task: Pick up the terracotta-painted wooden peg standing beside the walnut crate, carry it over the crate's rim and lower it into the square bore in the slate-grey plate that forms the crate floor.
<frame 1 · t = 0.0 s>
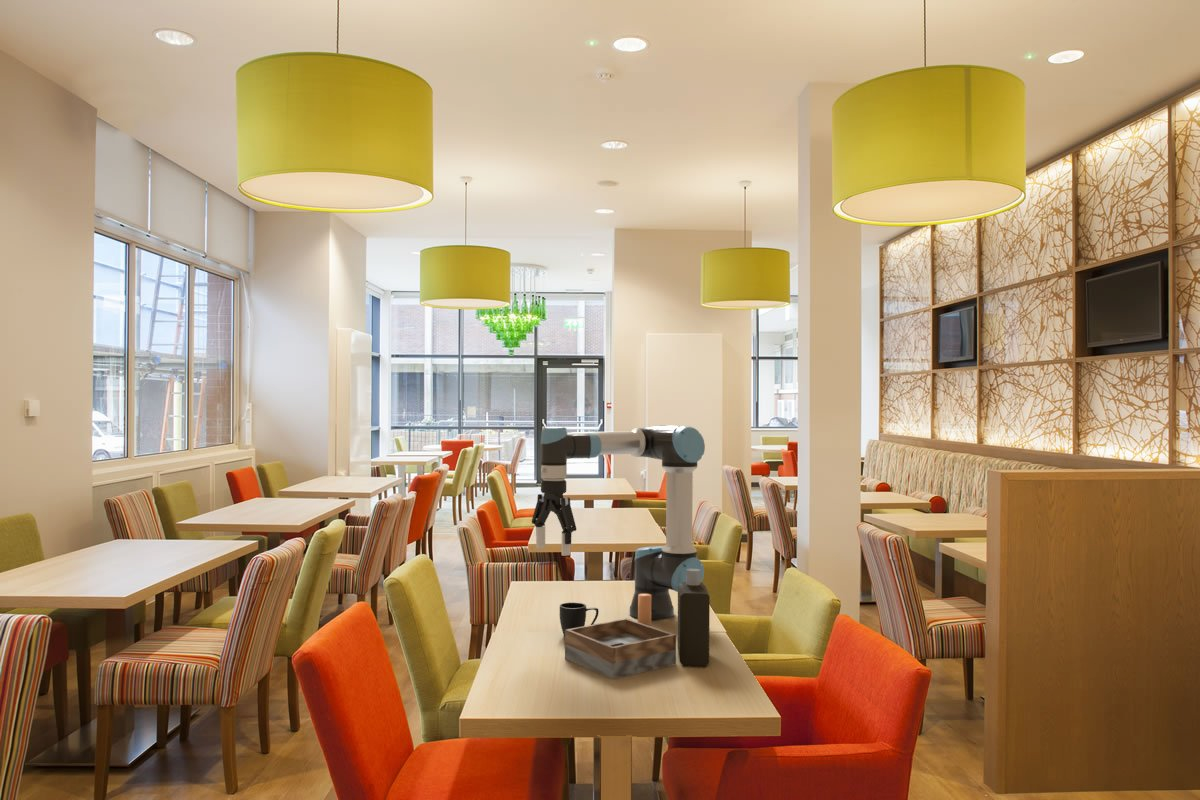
hand: (553, 552, 242), 28 cm above the table, fingers open, 13 cm apart
bottle: (692, 659, 231), on the table
crate: (619, 661, 229), on the table
peg: (644, 641, 248), on the table
mug: (578, 637, 253), on the table
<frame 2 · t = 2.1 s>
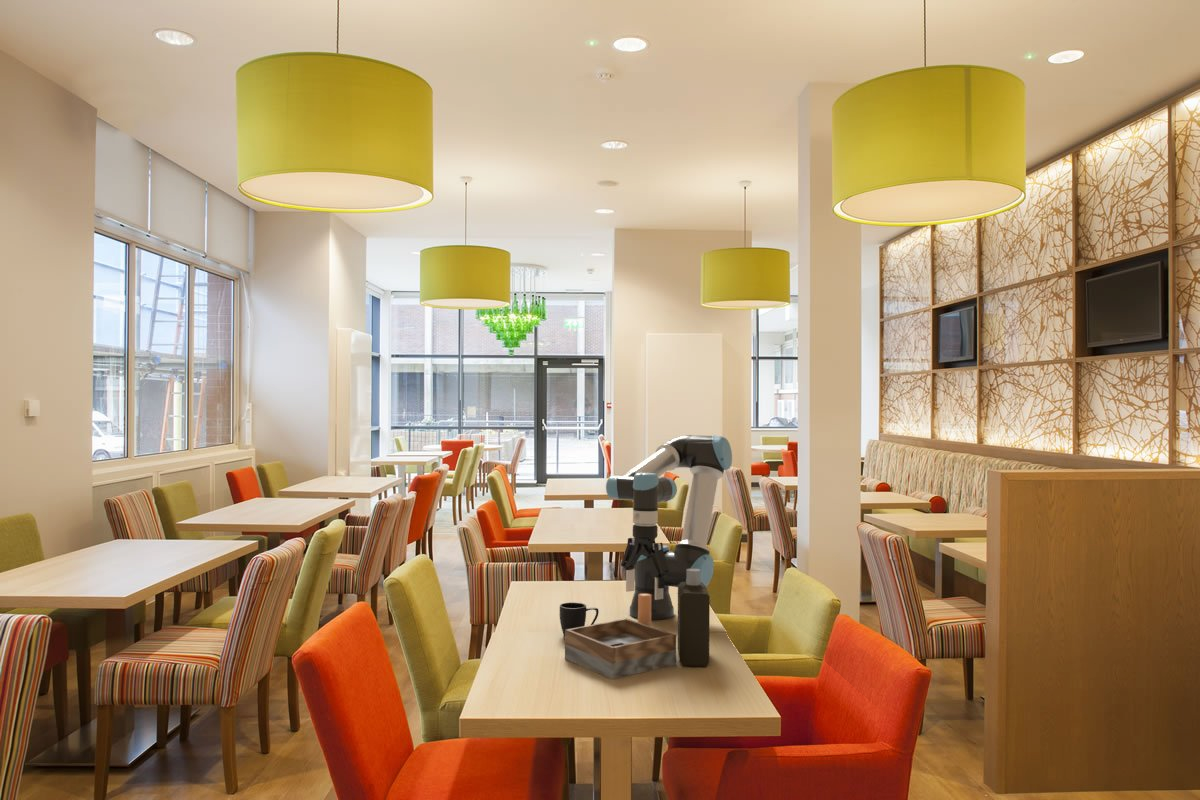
hand: (644, 595, 248), 14 cm above the table, fingers open, 13 cm apart
nothing on the table moved.
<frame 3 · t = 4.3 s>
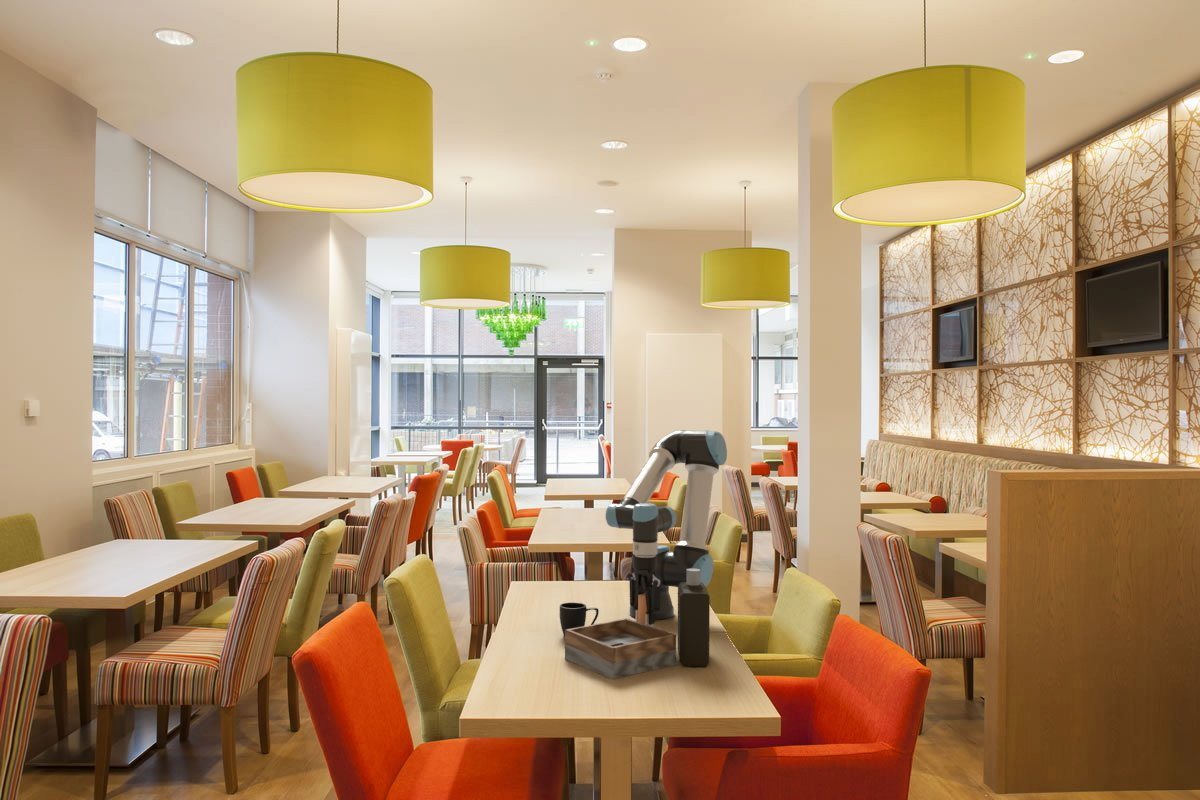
hand: (644, 632, 248), 3 cm above the table, fingers closed on peg, 4 cm apart
peg: (644, 641, 248), on the table, touching gripper
everything else where it was.
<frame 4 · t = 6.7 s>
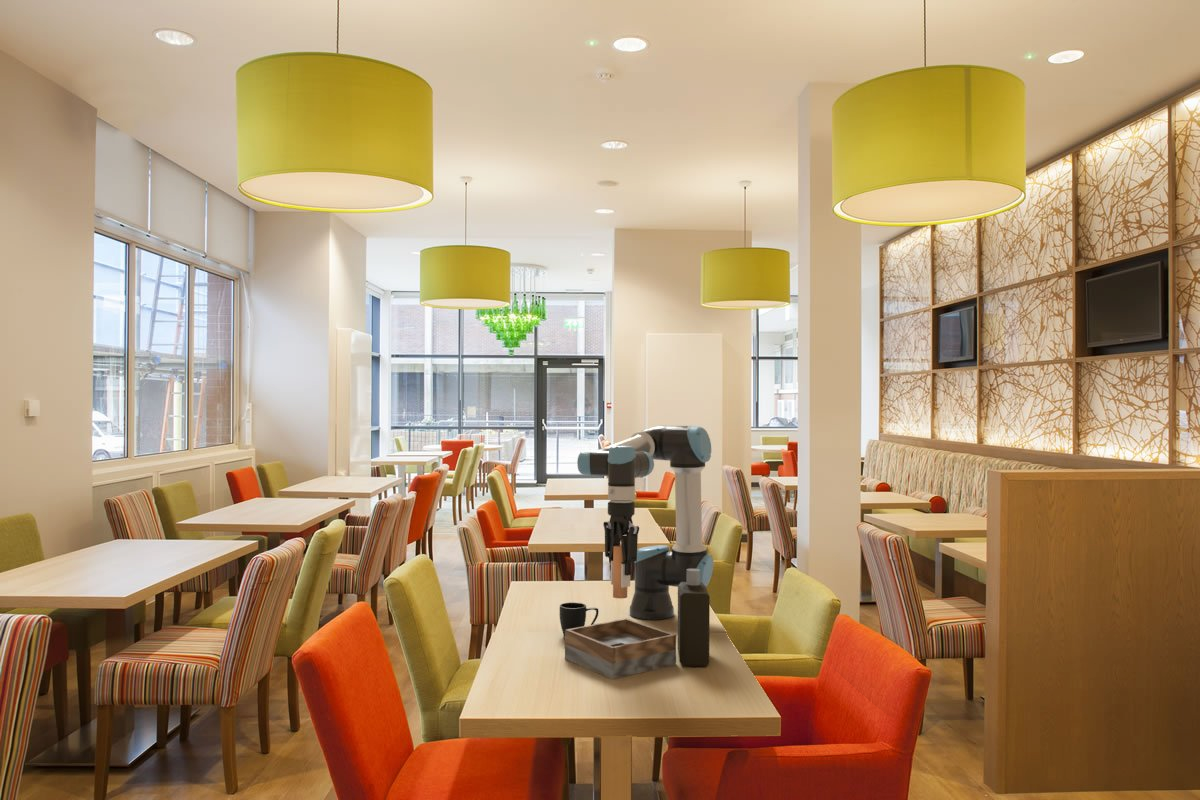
hand: (620, 585, 229), 21 cm above the table, fingers closed on peg, 4 cm apart
peg: (620, 596, 229), point 18 cm above the table, touching gripper
everything else where it was.
when the fingers open (6 cm above the table, at t = 9.6 s): peg drops 2 cm, resting in crate.
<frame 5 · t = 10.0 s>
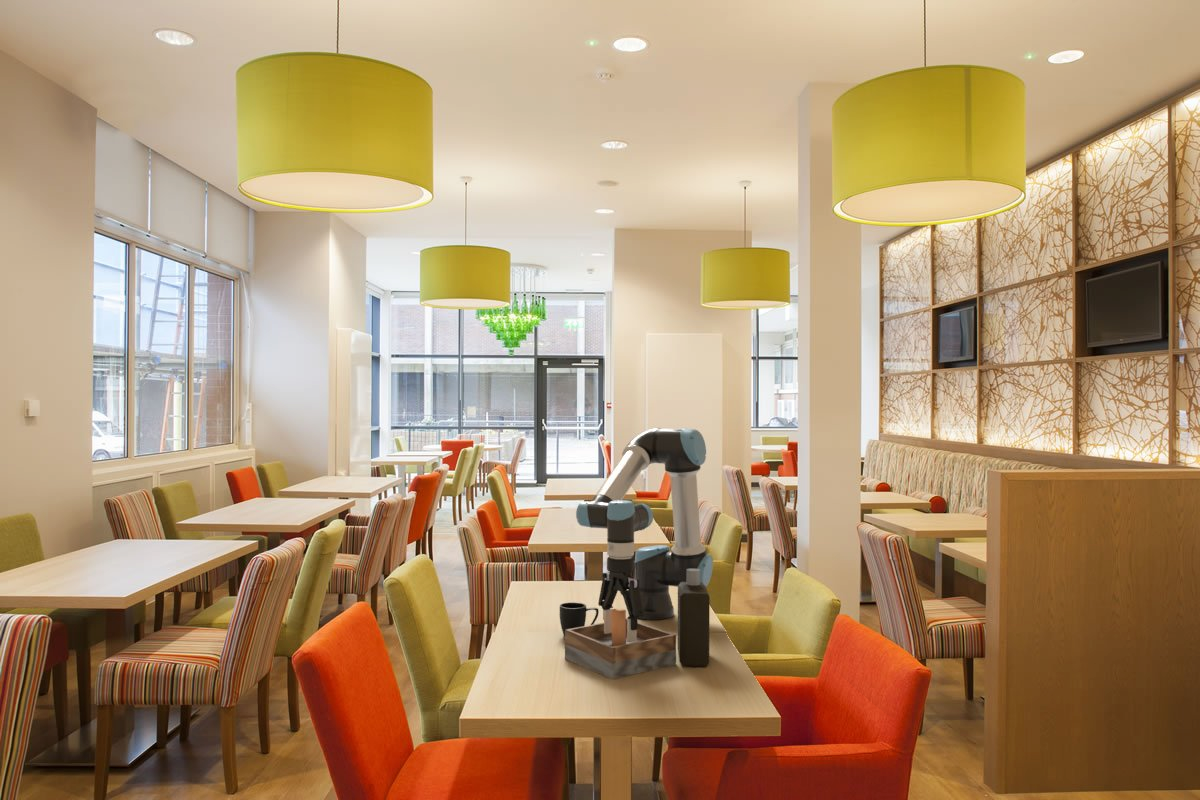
hand: (619, 637, 229), 7 cm above the table, fingers open, 10 cm apart
peg: (619, 660, 229), resting in crate
everything else where it was.
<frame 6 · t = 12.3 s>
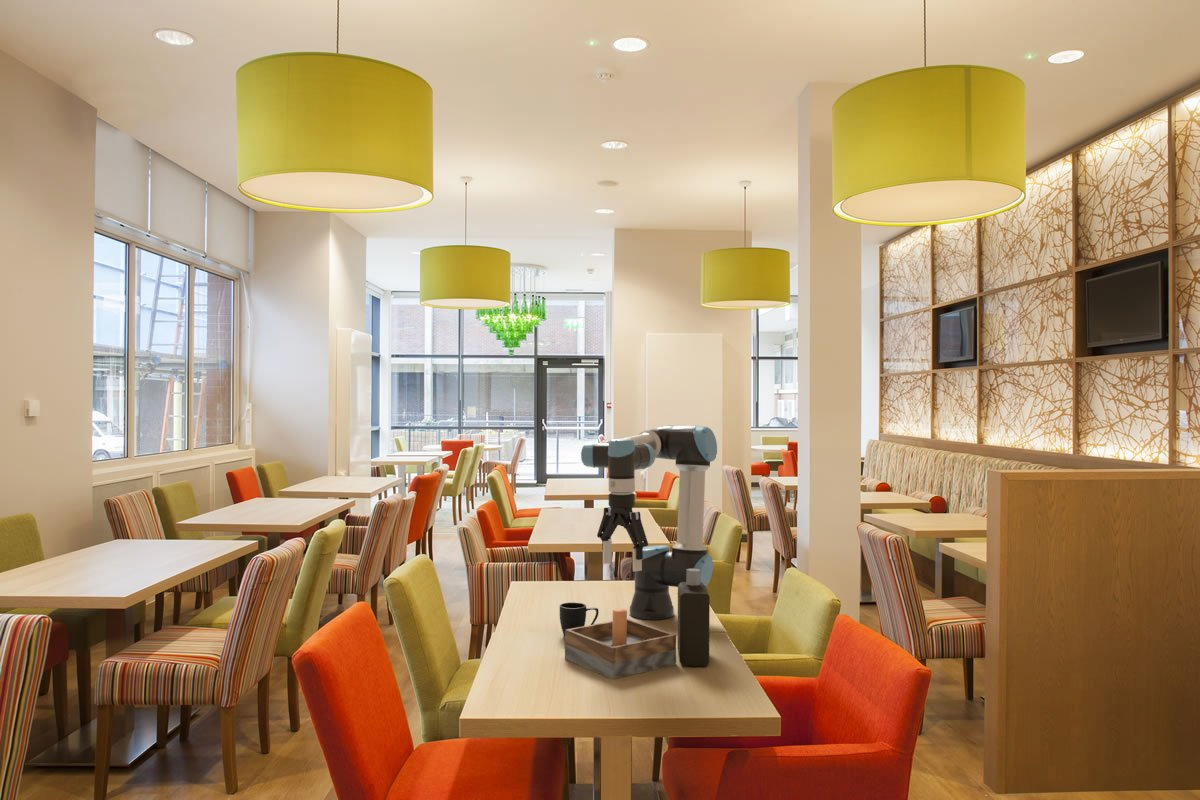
hand: (622, 567, 236), 25 cm above the table, fingers open, 13 cm apart
nothing on the table moved.
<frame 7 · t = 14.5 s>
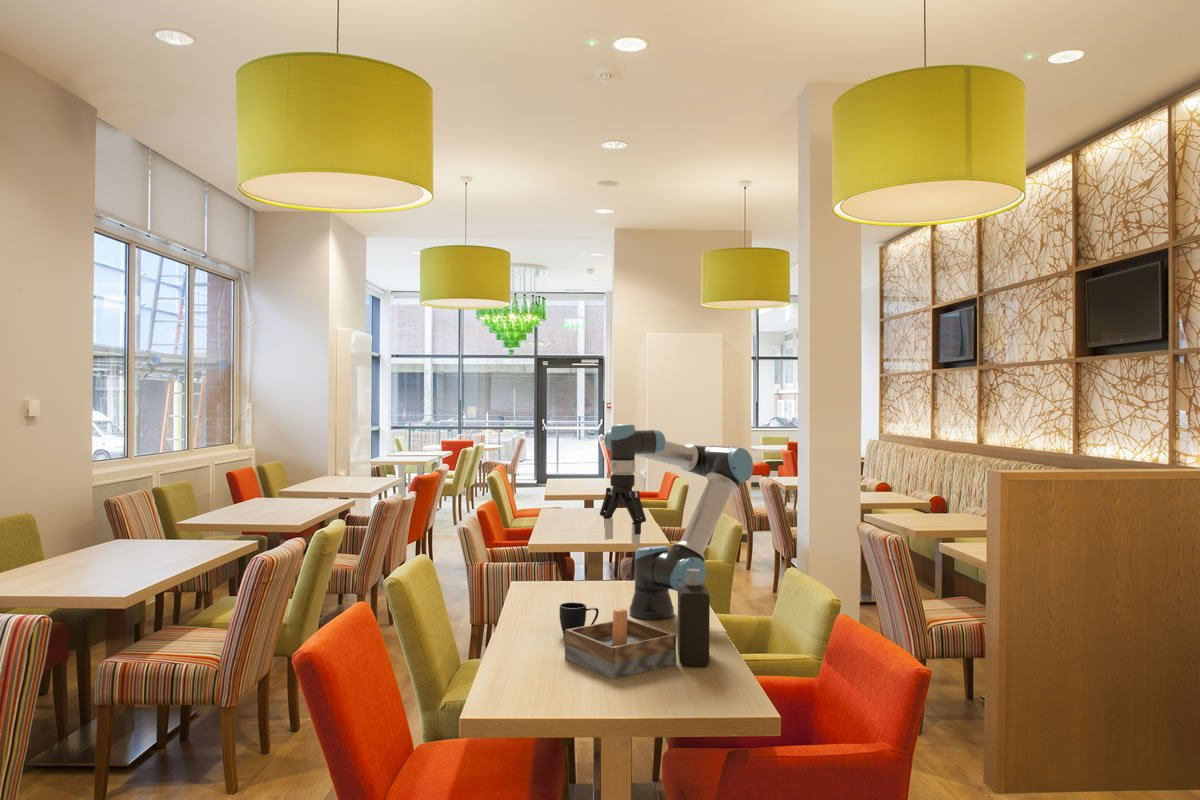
hand: (622, 542, 256), 29 cm above the table, fingers open, 13 cm apart
nothing on the table moved.
at the end: peg 0.1 cm off-centre on the crate, point 0.0 cm above the crate's base; peg tilted 1°; the gripper is holding nothing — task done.
